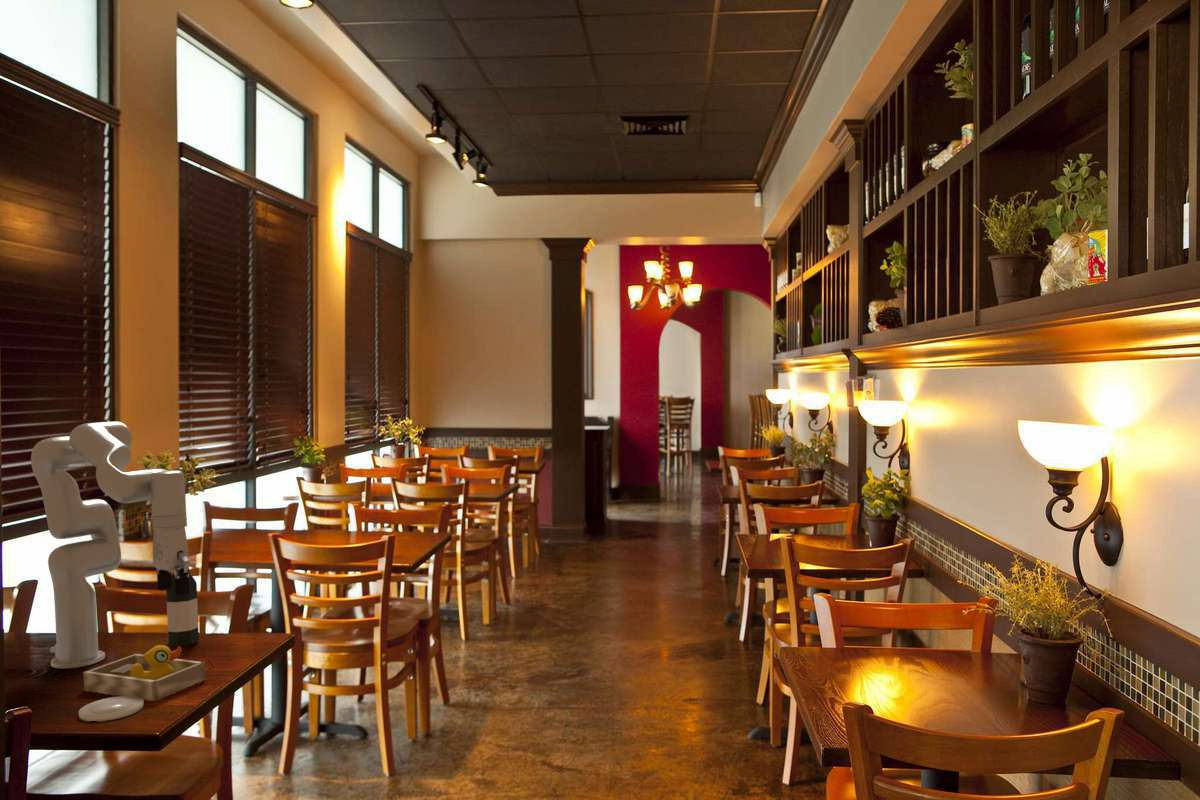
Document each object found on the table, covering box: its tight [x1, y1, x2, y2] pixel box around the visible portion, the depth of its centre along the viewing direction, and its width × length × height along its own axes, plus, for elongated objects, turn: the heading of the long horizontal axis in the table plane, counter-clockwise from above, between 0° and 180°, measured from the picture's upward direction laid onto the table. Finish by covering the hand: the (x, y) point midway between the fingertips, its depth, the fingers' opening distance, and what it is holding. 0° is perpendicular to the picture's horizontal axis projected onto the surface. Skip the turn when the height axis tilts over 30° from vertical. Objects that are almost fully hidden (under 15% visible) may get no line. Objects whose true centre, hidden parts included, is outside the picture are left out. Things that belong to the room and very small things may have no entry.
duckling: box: [130, 644, 182, 680], centre depth 222 cm, size 11×5×10 cm, turn 121°
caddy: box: [82, 653, 206, 702], centre depth 224 cm, size 23×15×4 cm, turn 68°
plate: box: [78, 696, 145, 722], centre depth 207 cm, size 13×13×1 cm
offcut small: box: [109, 664, 134, 677], centre depth 226 cm, size 4×6×2 cm, turn 165°
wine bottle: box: [165, 570, 200, 647], centre depth 259 cm, size 8×8×30 cm
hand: (173, 591), depth 223 cm, fingers open, 9 cm apart
